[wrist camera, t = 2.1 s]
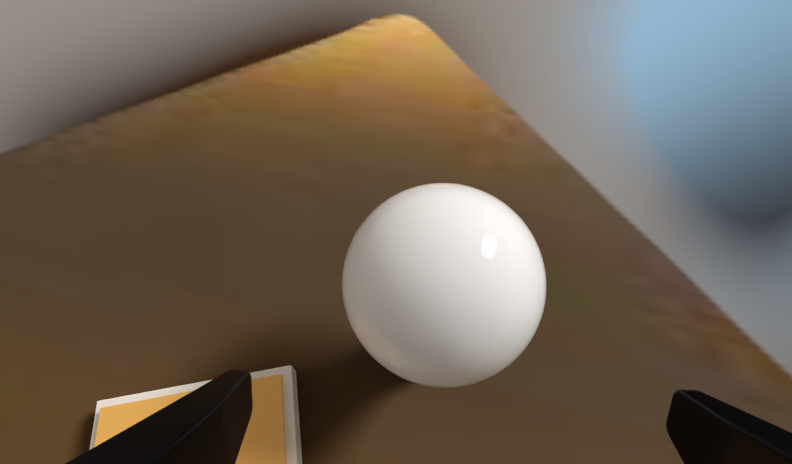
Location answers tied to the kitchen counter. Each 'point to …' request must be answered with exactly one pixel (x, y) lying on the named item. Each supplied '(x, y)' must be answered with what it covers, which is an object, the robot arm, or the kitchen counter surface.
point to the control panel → (267, 430)
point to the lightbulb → (444, 285)
